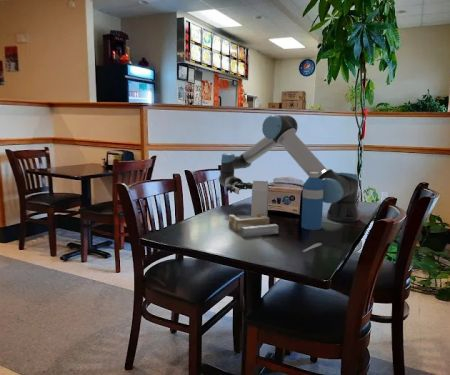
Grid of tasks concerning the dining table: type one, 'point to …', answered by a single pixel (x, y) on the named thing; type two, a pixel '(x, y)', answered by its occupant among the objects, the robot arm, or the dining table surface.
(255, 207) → the light grey rectangular block
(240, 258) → the dining table surface
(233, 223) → the cradle
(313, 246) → the butter knife
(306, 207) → the water bottle
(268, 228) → the stop rail
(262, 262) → the dining table surface
